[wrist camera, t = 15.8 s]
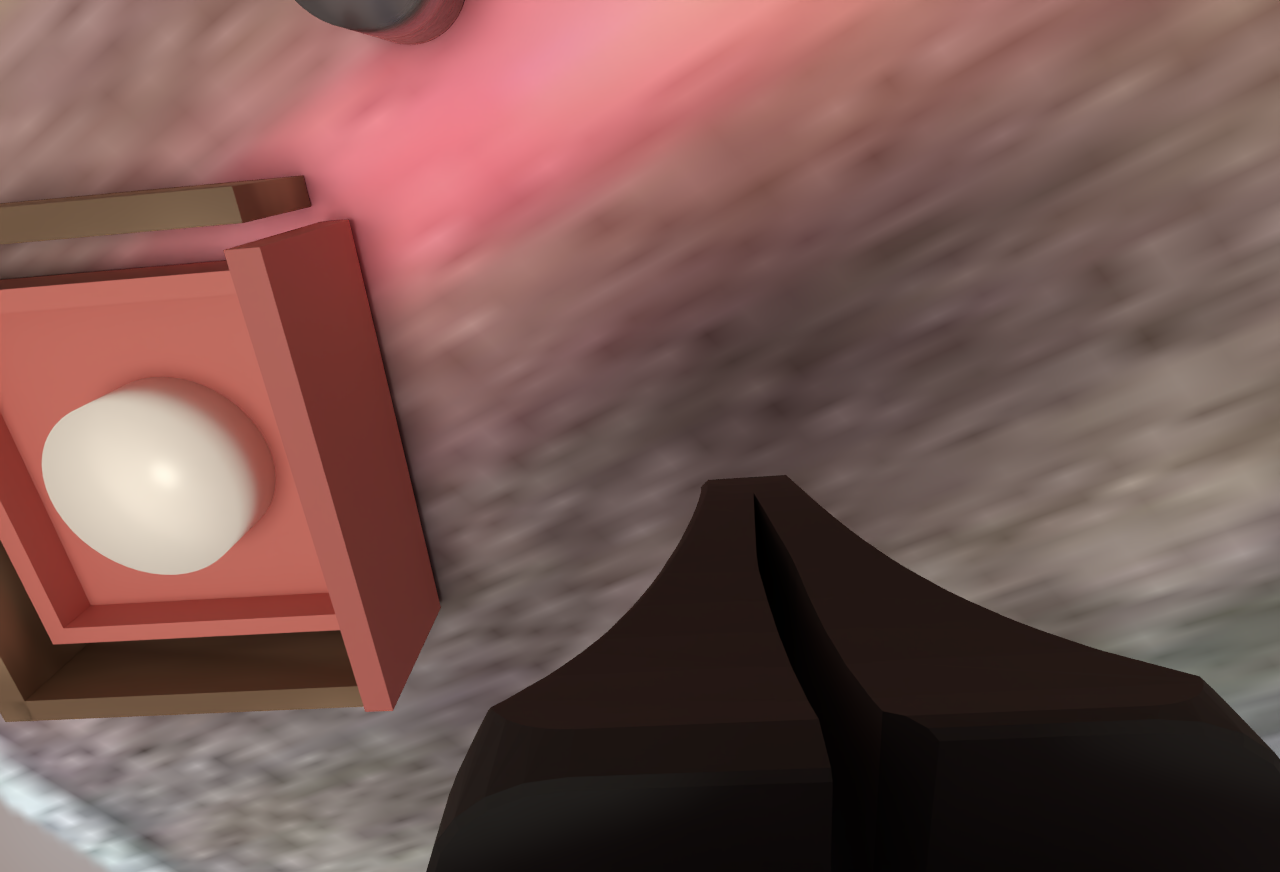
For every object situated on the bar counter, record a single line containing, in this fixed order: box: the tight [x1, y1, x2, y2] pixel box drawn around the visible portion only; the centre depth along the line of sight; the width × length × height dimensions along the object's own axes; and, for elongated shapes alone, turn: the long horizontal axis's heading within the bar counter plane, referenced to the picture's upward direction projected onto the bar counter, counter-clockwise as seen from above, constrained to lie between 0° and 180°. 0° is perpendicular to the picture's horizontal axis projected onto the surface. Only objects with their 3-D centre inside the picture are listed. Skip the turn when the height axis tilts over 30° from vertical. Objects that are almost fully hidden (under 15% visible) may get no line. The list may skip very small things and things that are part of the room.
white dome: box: [42, 377, 276, 575], centre depth 21 cm, size 5×5×2 cm
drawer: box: [0, 220, 441, 712], centre depth 20 cm, size 13×12×5 cm
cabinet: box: [0, 176, 363, 722], centre depth 21 cm, size 15×12×4 cm
